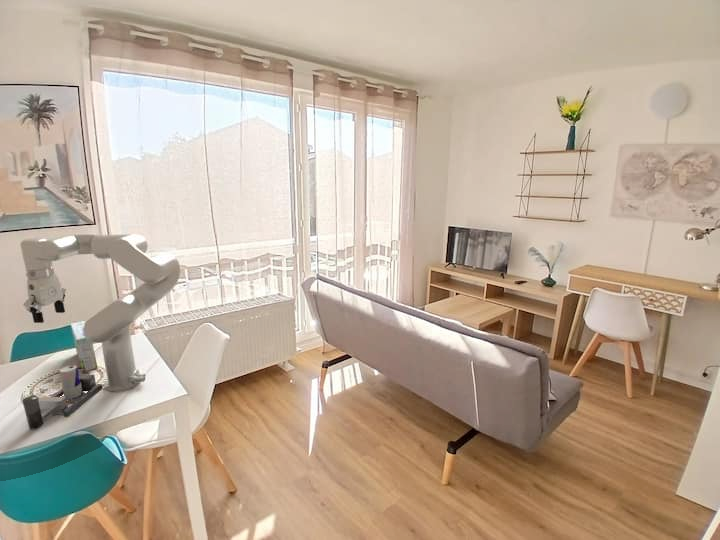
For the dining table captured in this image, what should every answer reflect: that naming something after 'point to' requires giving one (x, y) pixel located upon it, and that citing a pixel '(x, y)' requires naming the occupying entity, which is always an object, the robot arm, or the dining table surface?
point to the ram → (42, 409)
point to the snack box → (83, 347)
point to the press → (87, 385)
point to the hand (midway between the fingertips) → (50, 317)
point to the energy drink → (71, 382)
